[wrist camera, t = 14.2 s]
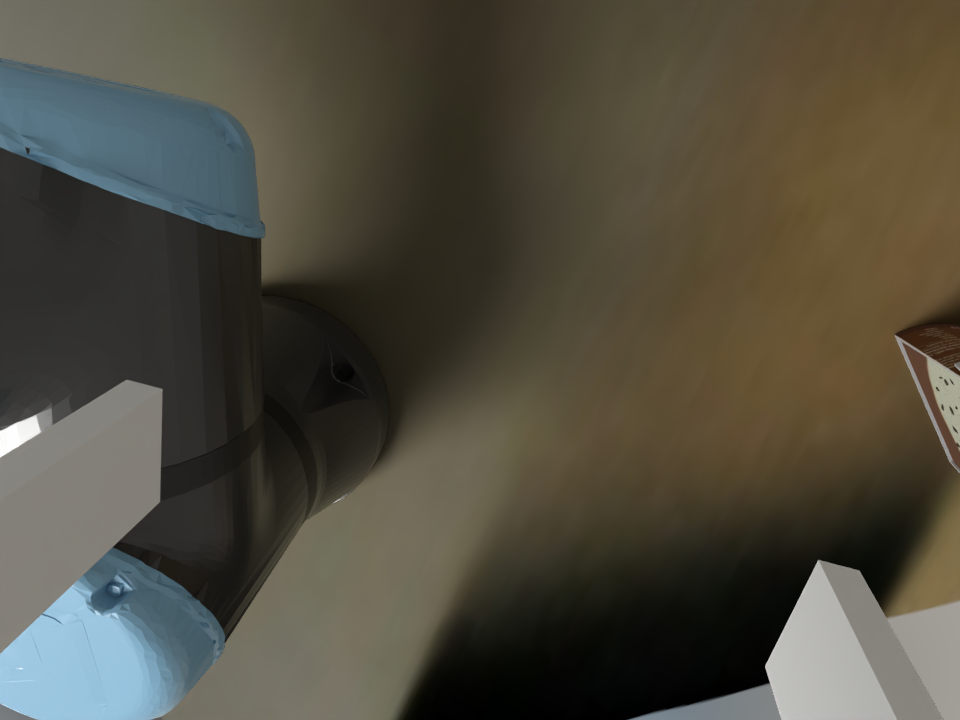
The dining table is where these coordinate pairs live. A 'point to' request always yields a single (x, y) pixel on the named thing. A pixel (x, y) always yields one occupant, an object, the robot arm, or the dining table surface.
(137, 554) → the robot arm
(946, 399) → the food container
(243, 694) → the dining table surface
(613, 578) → the dining table surface
